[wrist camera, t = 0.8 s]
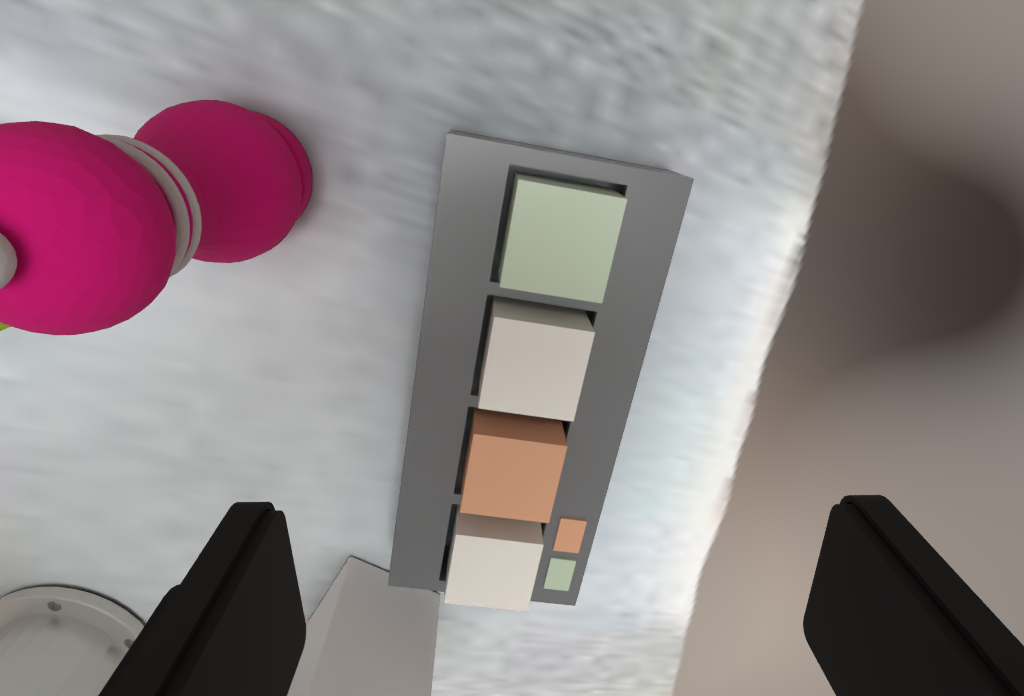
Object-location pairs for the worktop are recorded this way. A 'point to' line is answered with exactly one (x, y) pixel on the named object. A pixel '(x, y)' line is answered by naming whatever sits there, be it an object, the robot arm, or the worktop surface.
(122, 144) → the pepper mill
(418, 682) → the milk carton
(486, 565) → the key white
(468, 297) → the keypad
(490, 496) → the key terracotta
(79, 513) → the worktop surface
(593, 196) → the key sage
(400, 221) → the worktop surface
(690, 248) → the worktop surface
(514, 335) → the key white mid
